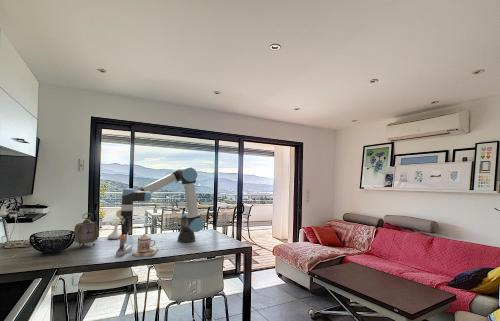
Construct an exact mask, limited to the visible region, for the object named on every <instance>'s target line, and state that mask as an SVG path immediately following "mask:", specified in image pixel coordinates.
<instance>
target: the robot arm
mask: <svg viewBox="0 0 500 321" xmlns="http://www.w3.org/2000/svg"><path fill="white" fill-rule="evenodd" d="M197 177H198V172H197V170H196V169H195V168H194V167H192V166H182V167H180V168H177V169H176V170H173V171H172V172H170V173H169V174H168V175H166V176H164V177H162V178H160V179H157V180H156V181H153V182H152V183H149V184H146V185H145V186H142V187H141V188H139V189H134V188H123V189H122V195H121V205H120V207H121V208H120V210H122V211H121V216H123V219H122V221H121V220H120V225H121V227H120V228H121V234H124V235H126V239H125V243H124V245H126V244H127V243H128V235H129V234H130V227H131V226H130V225H131V220H132V218H131V217H132V216H133V212H134V211H133V210H134V203H135V202H136V203H137V202H139V203H140V202H142V203H143V202H150V201H151V199H152V194H153V193H155V192H157V191H159V190H162V189H163V188H165V187H167V186H170V185H172V184H173V183H178V182H181V185H182V186H183V187H184V188H183V189H184V197H185V203H186V204H185V205H186V210H187V213H185V214H181V216H180V230H179V234H178V237H177V242H179V243H185V244H186V243H193V242H195V241H196V234H195V233H199V232H200V231H202V229H203V228H204V225H205V224H204V223H205V222H204V220H203V219H202V217H201V213H200V212H199V209H198V202H197V193H196V186H195V184H197Z"/></svg>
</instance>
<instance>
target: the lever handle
mask: <svg viewBox="0 0 500 321" xmlns="http://www.w3.org/2000/svg"><path fill="white" fill-rule="evenodd" d="M118 239H119V248H118V249H116V251H124V250H126V248H124V246H125V244H124V243H125V239H126V235H124V234H122V233H121V235H120V236H119V238H118Z"/></svg>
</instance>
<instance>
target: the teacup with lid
mask: <svg viewBox="0 0 500 321" xmlns="http://www.w3.org/2000/svg"><path fill="white" fill-rule="evenodd" d="M151 242H153V244H152V245H151ZM155 244H156V241H155V240H154V239H152V237H151V236H149V235H147V233H143V235H141V236H139V237H137V247H136V250H137V251H138V252H148V251H150V248H153V247H154V246H155Z"/></svg>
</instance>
